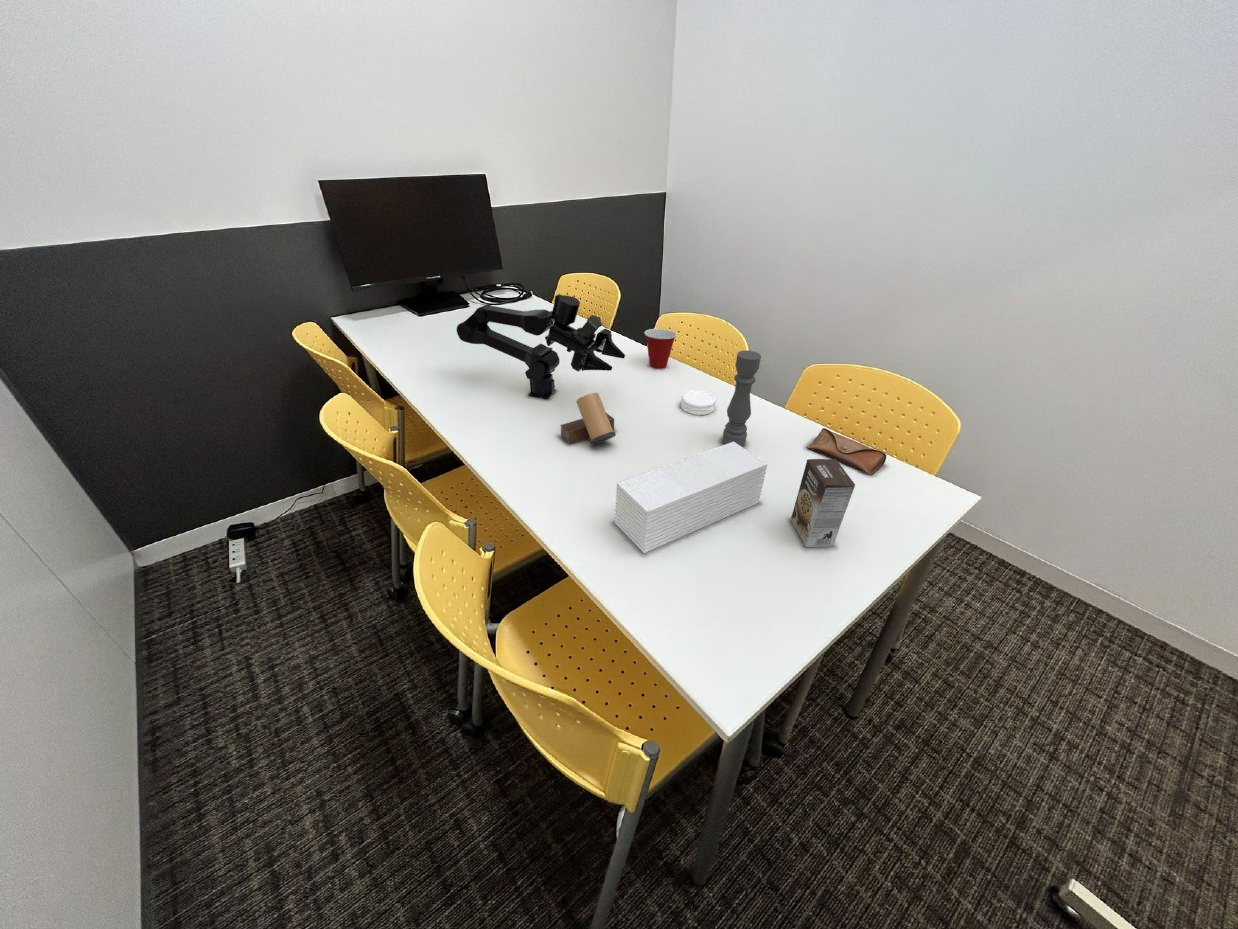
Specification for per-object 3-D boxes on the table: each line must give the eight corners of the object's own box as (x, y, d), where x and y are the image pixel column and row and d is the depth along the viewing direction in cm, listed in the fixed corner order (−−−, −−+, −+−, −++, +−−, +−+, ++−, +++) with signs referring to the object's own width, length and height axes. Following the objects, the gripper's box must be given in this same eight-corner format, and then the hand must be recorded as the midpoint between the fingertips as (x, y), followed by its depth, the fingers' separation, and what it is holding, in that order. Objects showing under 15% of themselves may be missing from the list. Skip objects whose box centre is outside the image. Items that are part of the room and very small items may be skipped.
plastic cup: (674, 360, 187) (677, 327, 181) (673, 373, 178) (677, 338, 172) (643, 358, 188) (645, 325, 181) (641, 370, 179) (643, 336, 172)
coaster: (673, 407, 158) (675, 396, 156) (693, 396, 164) (695, 386, 163) (701, 419, 153) (702, 408, 151) (720, 407, 159) (722, 397, 157)
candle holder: (746, 439, 144) (763, 352, 130) (743, 450, 139) (760, 361, 125) (723, 435, 146) (738, 348, 132) (719, 446, 141) (734, 357, 127)
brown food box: (789, 519, 117) (806, 458, 108) (817, 518, 117) (836, 457, 108) (804, 548, 109) (824, 484, 100) (834, 547, 110) (856, 484, 101)
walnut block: (560, 436, 142) (560, 424, 140) (605, 423, 149) (605, 411, 147) (569, 444, 139) (568, 432, 137) (614, 430, 146) (614, 418, 144)
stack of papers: (643, 553, 106) (647, 511, 100) (615, 523, 114) (616, 482, 108) (758, 503, 121) (767, 463, 115) (726, 479, 129) (733, 441, 122)
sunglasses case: (805, 447, 141) (816, 424, 140) (812, 450, 147) (823, 427, 146) (872, 475, 131) (884, 451, 130) (877, 477, 137) (889, 454, 135)
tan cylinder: (572, 432, 144) (571, 389, 137) (593, 426, 147) (594, 383, 140) (596, 455, 135) (597, 410, 128) (619, 447, 139) (621, 403, 131)
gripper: (560, 322, 137) (613, 349, 135) (591, 302, 151) (639, 326, 149) (551, 358, 144) (601, 385, 142) (581, 336, 158) (627, 360, 156)
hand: (618, 362), depth 147 cm, fingers open, 9 cm apart
